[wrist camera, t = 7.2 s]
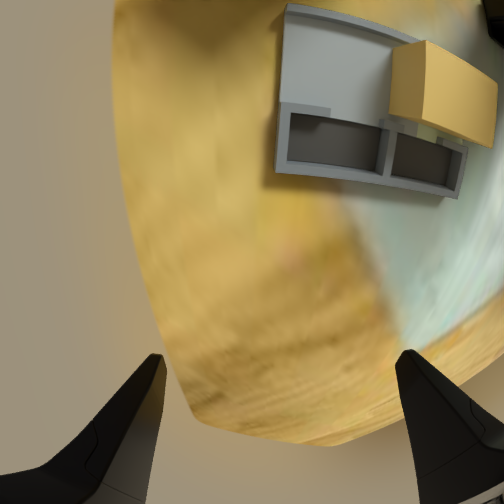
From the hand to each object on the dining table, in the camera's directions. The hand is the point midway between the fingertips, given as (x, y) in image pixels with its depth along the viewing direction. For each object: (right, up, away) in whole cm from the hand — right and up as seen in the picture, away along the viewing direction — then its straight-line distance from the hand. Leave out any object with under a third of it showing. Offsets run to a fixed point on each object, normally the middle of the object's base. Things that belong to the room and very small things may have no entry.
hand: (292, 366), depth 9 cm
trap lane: (+8, +14, +6) cm, 17 cm away
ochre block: (+11, +15, +5) cm, 19 cm away
